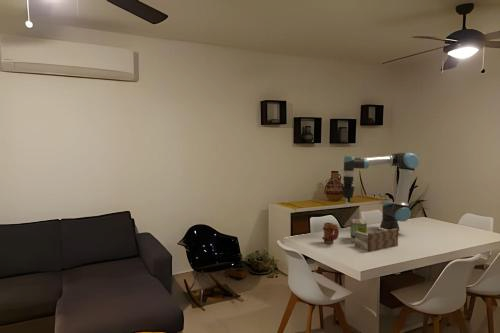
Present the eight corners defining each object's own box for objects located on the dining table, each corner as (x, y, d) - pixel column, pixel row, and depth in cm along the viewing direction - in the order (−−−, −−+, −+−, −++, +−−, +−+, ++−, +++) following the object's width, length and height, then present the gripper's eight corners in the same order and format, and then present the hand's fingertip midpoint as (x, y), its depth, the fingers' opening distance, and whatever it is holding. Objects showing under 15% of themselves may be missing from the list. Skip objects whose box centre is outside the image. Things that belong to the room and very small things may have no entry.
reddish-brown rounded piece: (320, 241, 254) (320, 221, 253) (329, 240, 257) (329, 220, 256) (332, 247, 240) (332, 225, 239) (341, 246, 244) (342, 224, 243)
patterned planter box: (381, 240, 257) (381, 224, 256) (397, 245, 244) (398, 229, 243) (353, 246, 243) (353, 229, 242) (369, 251, 231) (370, 234, 230)
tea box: (366, 243, 250) (366, 223, 249) (351, 242, 252) (352, 222, 251) (363, 238, 264) (364, 219, 263) (350, 237, 266) (350, 218, 265)
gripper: (338, 175, 271) (337, 205, 273) (351, 177, 260) (349, 208, 262) (345, 175, 275) (344, 204, 277) (358, 176, 264) (357, 207, 265)
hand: (347, 206), depth 269 cm, fingers closed
